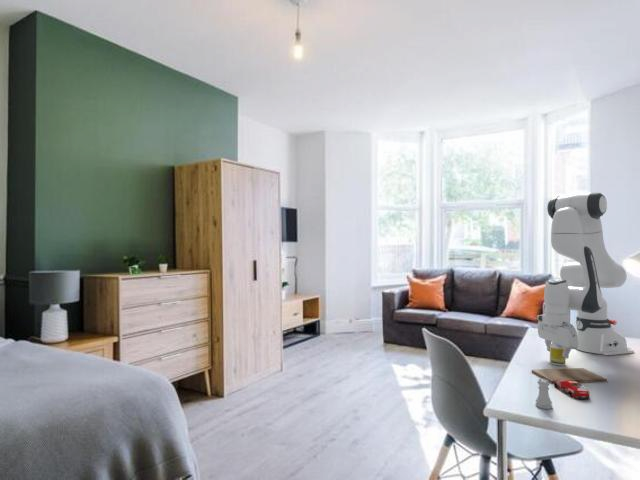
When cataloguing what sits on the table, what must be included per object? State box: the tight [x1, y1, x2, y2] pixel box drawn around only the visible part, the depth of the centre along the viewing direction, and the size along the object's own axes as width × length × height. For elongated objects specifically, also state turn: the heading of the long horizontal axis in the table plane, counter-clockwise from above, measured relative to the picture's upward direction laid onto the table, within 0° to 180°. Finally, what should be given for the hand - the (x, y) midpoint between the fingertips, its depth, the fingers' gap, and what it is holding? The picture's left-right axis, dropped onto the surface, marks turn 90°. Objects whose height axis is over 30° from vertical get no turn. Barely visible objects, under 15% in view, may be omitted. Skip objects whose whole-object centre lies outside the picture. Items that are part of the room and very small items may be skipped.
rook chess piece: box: [535, 377, 553, 410], centre depth 121 cm, size 4×4×8 cm
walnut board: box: [531, 367, 608, 385], centre depth 146 cm, size 20×12×1 cm, turn 93°
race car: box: [553, 380, 590, 400], centre depth 132 cm, size 13×5×4 cm, turn 179°
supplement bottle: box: [549, 339, 566, 366], centre depth 161 cm, size 5×5×10 cm
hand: (557, 354), depth 161 cm, fingers open, 8 cm apart
